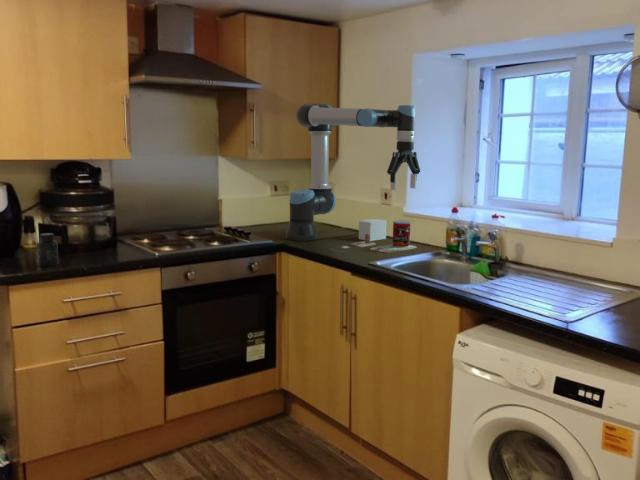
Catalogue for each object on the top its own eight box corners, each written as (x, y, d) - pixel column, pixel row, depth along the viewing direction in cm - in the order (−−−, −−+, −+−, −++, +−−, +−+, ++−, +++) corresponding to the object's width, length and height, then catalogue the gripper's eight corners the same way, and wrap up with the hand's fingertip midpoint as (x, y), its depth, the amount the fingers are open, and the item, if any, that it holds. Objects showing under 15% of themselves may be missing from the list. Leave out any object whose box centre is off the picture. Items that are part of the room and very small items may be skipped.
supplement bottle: (36, 264, 231) (34, 233, 229) (56, 262, 235) (54, 232, 233) (41, 268, 225) (39, 236, 223) (60, 266, 229) (59, 234, 227)
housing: (358, 238, 299) (359, 220, 297) (374, 236, 307) (375, 218, 305) (370, 241, 293) (370, 222, 292) (385, 238, 301) (386, 220, 300)
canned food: (391, 246, 275) (392, 222, 273) (393, 243, 283) (394, 219, 281) (408, 247, 273) (409, 223, 271) (410, 244, 281) (411, 220, 279)
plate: (351, 245, 282) (351, 235, 281) (365, 242, 288) (366, 232, 288) (360, 247, 277) (360, 236, 277) (375, 244, 284) (375, 234, 283)
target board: (370, 249, 272) (370, 247, 271) (399, 244, 285) (399, 242, 285) (387, 253, 264) (387, 250, 264) (416, 248, 278) (416, 245, 278)
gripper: (393, 141, 259) (391, 191, 262) (429, 141, 275) (427, 188, 279) (380, 140, 264) (378, 189, 268) (416, 140, 281) (414, 187, 285)
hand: (403, 189), depth 273 cm, fingers open, 13 cm apart
